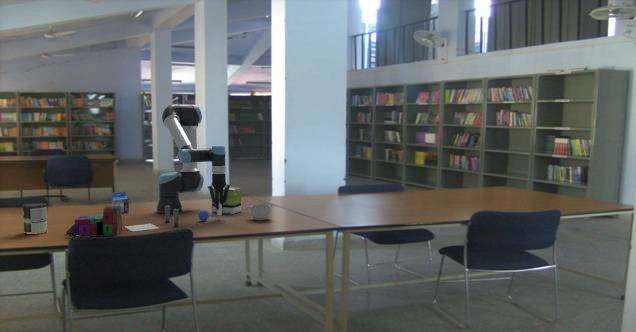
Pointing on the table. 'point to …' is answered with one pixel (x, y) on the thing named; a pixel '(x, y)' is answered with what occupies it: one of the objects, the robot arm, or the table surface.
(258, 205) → the teacup
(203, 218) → the ball
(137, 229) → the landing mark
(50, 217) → the table surface
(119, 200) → the label tape box
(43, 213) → the coffee can
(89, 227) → the block puzzle
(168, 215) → the gate posts
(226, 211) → the tea box
